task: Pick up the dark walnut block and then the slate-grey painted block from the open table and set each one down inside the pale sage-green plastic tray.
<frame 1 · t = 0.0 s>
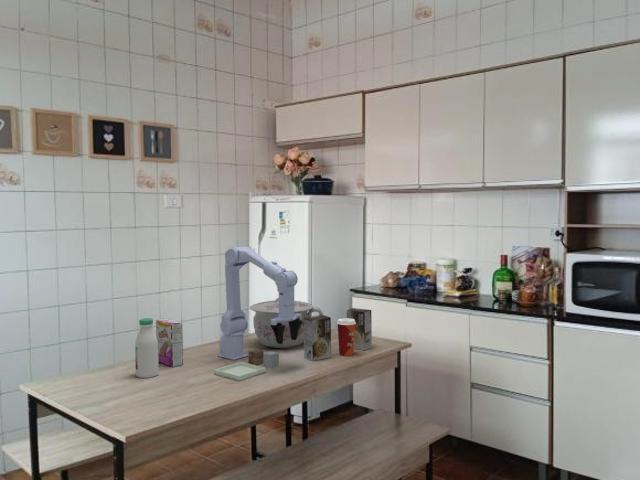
hand: (286, 341, 207), 10 cm above the table, tool pointing down, fingers open, 7 cm apart
walnut block: (256, 363, 215), on the table
grey block: (271, 366, 211), on the table
milk bottle: (147, 375, 200), on the table
chamber pot: (282, 345, 244), on the table
coffee box: (317, 358, 223), on the table
paper cup: (346, 354, 228), on the table
coffee box 2: (359, 348, 238), on the table
tray: (240, 373, 202), on the table
candy bar box: (169, 364, 215), on the table
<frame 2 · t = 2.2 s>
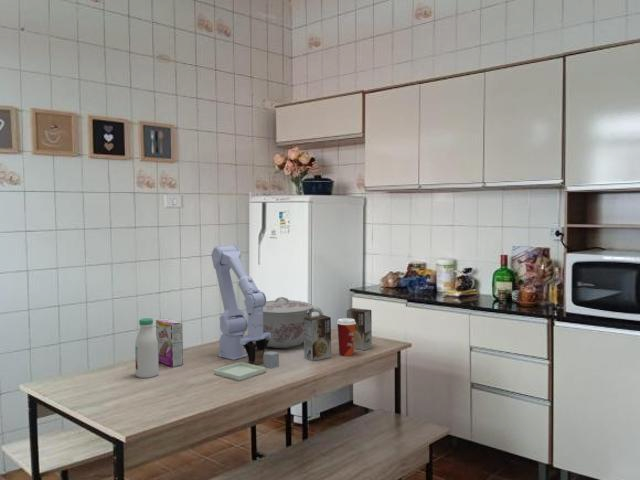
hand: (256, 359, 214), 1 cm above the table, tool pointing down, fingers closed on walnut block, 4 cm apart
walnut block: (256, 363, 215), on the table, touching gripper
everything else where it was.
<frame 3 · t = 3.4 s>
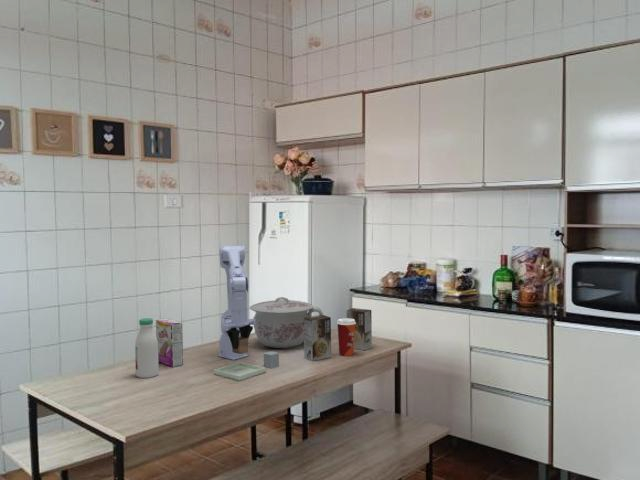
hand: (239, 347, 205), 9 cm above the table, tool pointing down, fingers closed on walnut block, 4 cm apart
walnut block: (240, 352, 205), point 7 cm above the table, touching gripper
everything else where it was.
when the fingers open (3 cm above the table, at t = 4.9 s): walnut block drops 1 cm, resting on tray.
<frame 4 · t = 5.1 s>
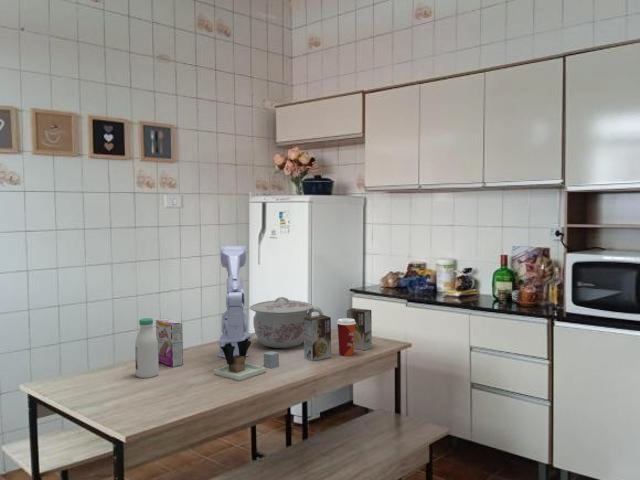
hand: (236, 362, 204), 3 cm above the table, tool pointing down, fingers open, 5 cm apart
walnut block: (236, 370, 204), resting on tray
everything else where it was.
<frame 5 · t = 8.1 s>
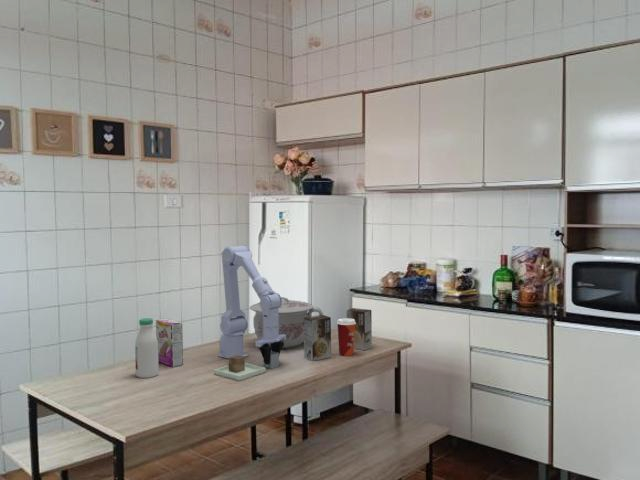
hand: (271, 362, 211), 1 cm above the table, tool pointing down, fingers closed on grey block, 4 cm apart
grey block: (271, 366, 211), on the table, touching gripper
everything else where it was.
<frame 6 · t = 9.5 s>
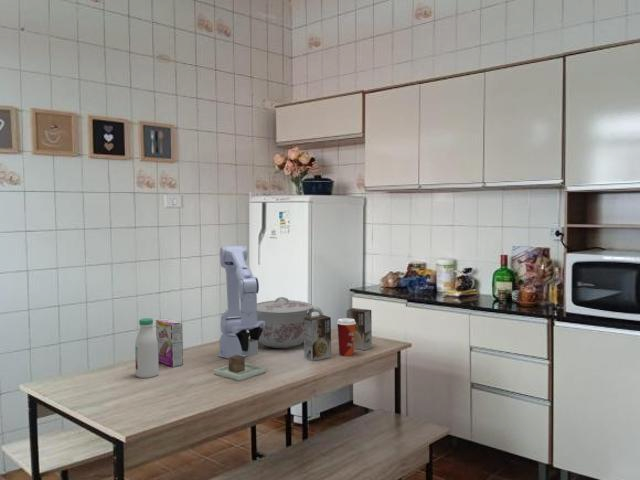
hand: (249, 349, 202), 8 cm above the table, tool pointing down, fingers closed on grey block, 4 cm apart
grey block: (250, 354, 202), point 7 cm above the table, touching gripper
everything else where it was.
when the fingers open (3 cm above the table, at t = 11.0 s): grey block drops 1 cm, resting on tray.
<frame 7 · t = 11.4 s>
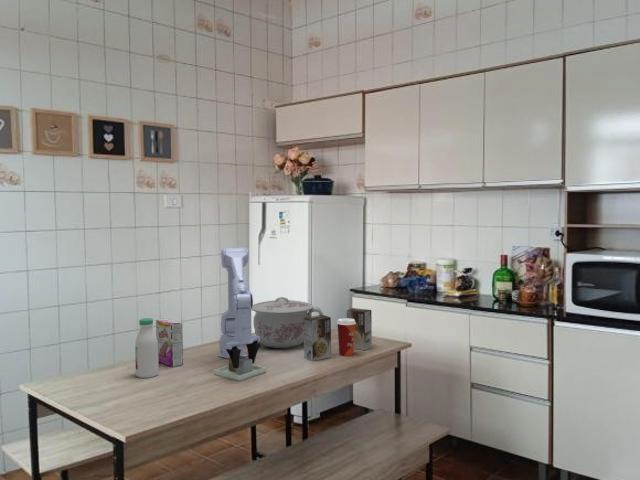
hand: (243, 365, 200), 3 cm above the table, tool pointing down, fingers open, 7 cm apart
grey block: (244, 373, 200), resting on tray
everything else where it was.
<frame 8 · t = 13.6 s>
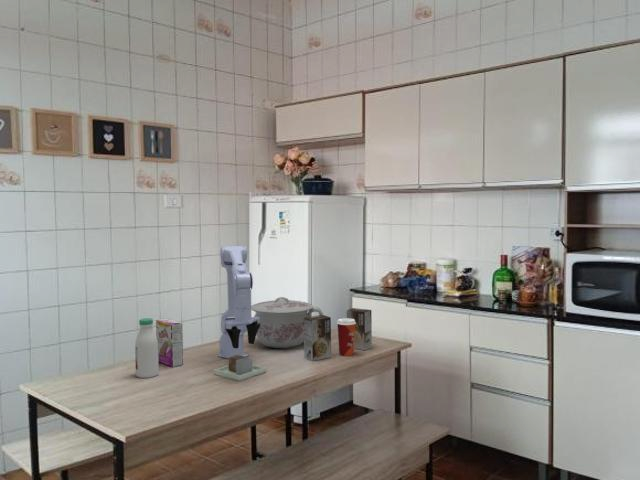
hand: (243, 345, 199), 10 cm above the table, tool pointing down, fingers open, 7 cm apart
nothing on the table moved.
at the end: walnut block inside the target area on the tray (2.3 cm from its centre), point 0.5 cm above the tray's base; grey block inside the target area on the tray (2.8 cm from its centre), point 0.5 cm above the tray's base; the gripper is holding nothing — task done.
